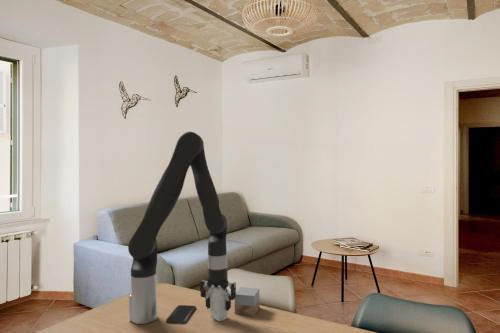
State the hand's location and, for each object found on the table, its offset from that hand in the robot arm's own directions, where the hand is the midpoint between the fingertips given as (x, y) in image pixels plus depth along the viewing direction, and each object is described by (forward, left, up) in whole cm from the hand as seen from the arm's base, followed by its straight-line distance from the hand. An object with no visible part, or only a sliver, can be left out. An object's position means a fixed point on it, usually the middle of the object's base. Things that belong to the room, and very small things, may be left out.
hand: (218, 308), depth 139 cm
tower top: (+9, +9, 0) cm, 13 cm away
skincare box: (0, 0, -4) cm, 4 cm away
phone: (-15, -1, -4) cm, 16 cm away
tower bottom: (+9, +9, -4) cm, 13 cm away
